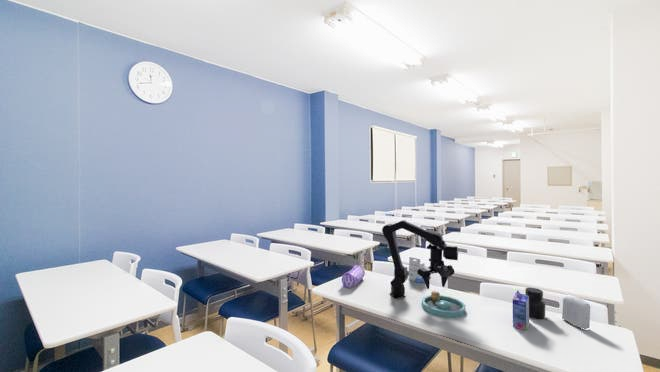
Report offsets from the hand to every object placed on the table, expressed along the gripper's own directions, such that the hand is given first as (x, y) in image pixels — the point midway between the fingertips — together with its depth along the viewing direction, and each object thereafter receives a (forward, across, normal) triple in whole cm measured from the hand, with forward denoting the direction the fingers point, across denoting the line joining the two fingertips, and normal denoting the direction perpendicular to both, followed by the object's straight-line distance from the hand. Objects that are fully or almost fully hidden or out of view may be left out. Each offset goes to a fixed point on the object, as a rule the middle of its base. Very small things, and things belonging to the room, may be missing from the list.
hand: (435, 287), depth 154 cm
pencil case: (+8, -30, +39) cm, 50 cm away
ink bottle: (+8, +36, -25) cm, 45 cm away
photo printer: (+8, +45, -37) cm, 59 cm away
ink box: (+8, +10, +32) cm, 34 cm away
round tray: (+8, 0, -6) cm, 10 cm away
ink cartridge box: (+8, +22, -30) cm, 38 cm away
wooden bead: (+7, 0, 0) cm, 7 cm away
